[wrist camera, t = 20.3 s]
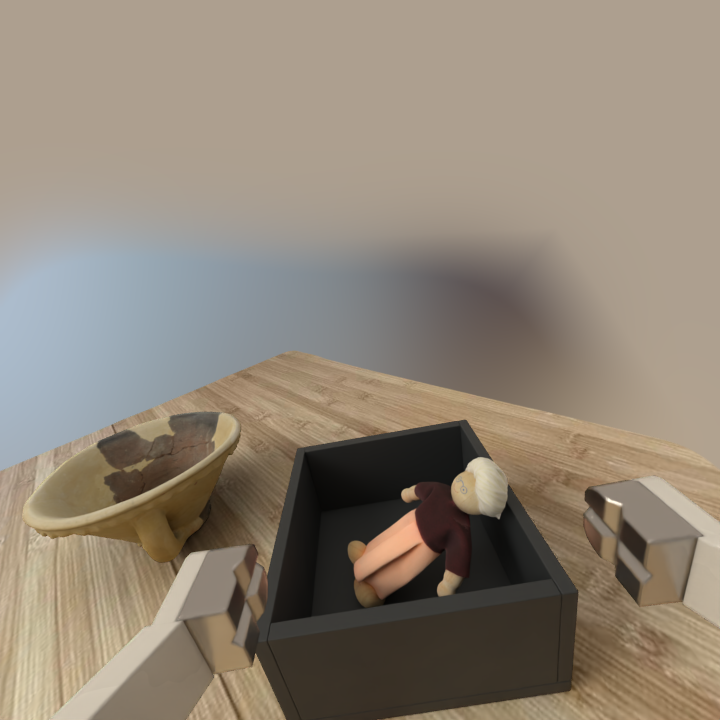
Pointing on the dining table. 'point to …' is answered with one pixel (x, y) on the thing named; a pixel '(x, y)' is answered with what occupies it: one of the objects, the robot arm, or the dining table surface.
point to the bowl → (139, 484)
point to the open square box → (407, 592)
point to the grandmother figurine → (429, 534)
